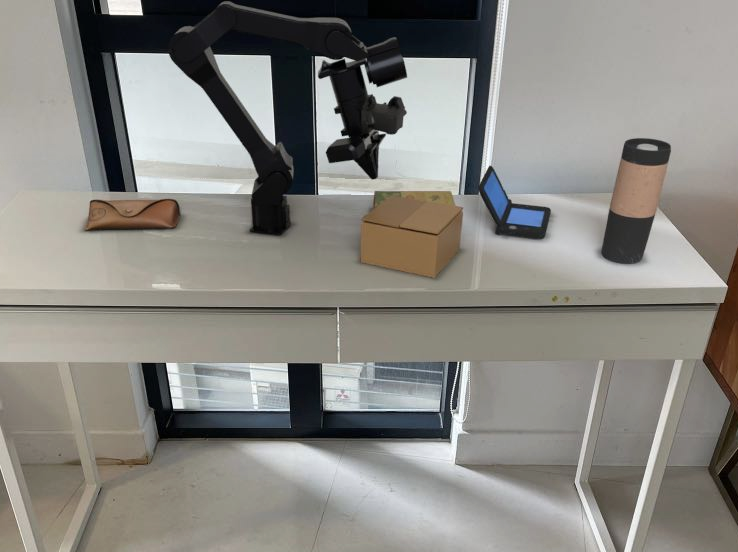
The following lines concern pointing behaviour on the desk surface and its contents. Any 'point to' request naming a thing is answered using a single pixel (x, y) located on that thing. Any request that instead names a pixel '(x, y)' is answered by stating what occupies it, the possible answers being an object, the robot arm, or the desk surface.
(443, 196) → the carton
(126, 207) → the sunglasses case
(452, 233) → the kraft box
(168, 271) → the desk surface
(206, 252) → the desk surface
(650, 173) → the travel mug
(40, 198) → the desk surface
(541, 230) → the game console
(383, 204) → the flap
